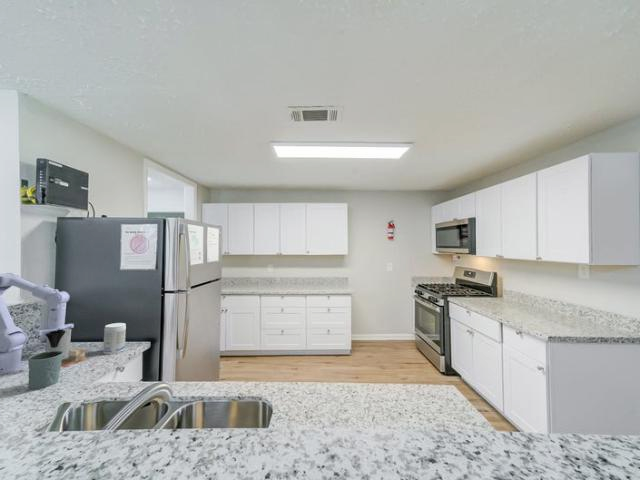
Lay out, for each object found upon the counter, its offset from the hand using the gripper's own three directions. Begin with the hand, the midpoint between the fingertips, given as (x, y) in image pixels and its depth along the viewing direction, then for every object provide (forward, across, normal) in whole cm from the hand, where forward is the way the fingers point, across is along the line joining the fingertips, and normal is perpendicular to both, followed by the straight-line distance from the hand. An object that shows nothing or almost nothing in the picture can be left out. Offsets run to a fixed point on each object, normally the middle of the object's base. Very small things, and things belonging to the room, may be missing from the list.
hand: (54, 347), depth 128 cm
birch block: (+9, +11, 0) cm, 14 cm away
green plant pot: (+10, -14, -15) cm, 23 cm away
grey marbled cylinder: (+10, +14, +16) cm, 23 cm away
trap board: (+9, +8, 0) cm, 12 cm away
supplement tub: (+10, +24, -8) cm, 27 cm away
